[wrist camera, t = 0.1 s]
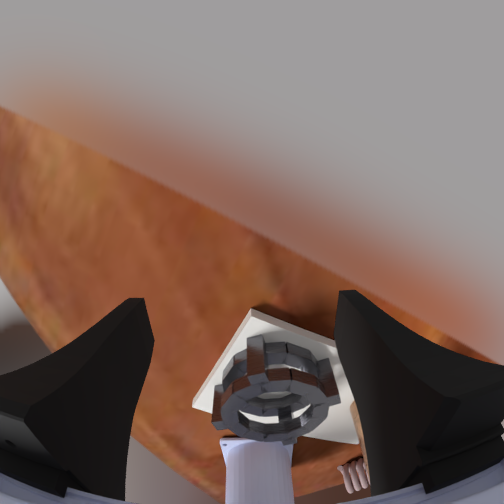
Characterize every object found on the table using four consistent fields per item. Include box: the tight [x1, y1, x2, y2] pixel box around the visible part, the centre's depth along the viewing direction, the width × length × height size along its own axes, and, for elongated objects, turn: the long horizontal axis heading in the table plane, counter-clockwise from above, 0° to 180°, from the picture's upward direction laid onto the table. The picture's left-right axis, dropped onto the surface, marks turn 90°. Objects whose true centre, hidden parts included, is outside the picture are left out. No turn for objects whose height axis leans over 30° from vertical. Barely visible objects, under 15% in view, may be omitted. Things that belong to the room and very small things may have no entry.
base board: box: [192, 308, 359, 444], centre depth 27 cm, size 20×12×1 cm, turn 63°
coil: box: [337, 458, 370, 493], centre depth 32 cm, size 5×5×18 cm
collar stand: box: [211, 334, 341, 446], centre depth 23 cm, size 8×8×4 cm
